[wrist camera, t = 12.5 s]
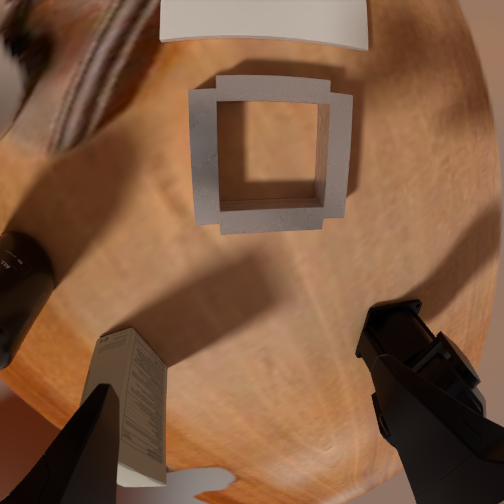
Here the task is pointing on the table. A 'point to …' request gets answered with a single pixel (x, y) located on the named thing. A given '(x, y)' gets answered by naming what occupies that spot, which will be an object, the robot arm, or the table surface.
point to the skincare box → (134, 404)
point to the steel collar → (271, 210)
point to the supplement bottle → (21, 289)
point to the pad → (268, 21)
